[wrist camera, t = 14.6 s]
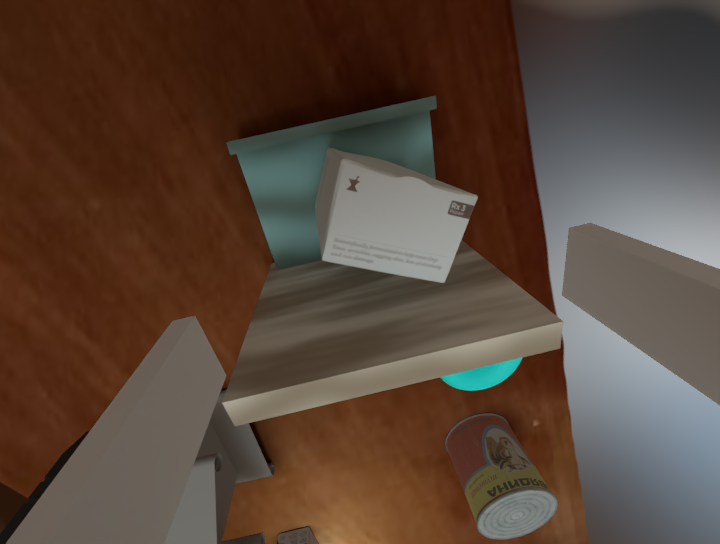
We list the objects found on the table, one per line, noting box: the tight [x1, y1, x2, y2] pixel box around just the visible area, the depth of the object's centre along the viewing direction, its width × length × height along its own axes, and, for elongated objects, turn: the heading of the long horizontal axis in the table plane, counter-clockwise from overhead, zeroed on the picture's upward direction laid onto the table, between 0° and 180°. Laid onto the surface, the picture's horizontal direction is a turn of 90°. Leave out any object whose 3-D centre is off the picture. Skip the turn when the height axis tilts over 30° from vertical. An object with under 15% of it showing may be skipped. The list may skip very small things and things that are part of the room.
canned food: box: [445, 413, 558, 539], centre depth 48 cm, size 11×11×12 cm
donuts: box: [440, 357, 523, 391], centre depth 37 cm, size 10×10×10 cm
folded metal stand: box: [164, 390, 274, 544], centre depth 37 cm, size 18×10×20 cm, turn 9°
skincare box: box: [315, 147, 478, 283], centre depth 24 cm, size 8×6×15 cm
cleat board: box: [222, 96, 563, 426], centre depth 24 cm, size 15×20×20 cm
